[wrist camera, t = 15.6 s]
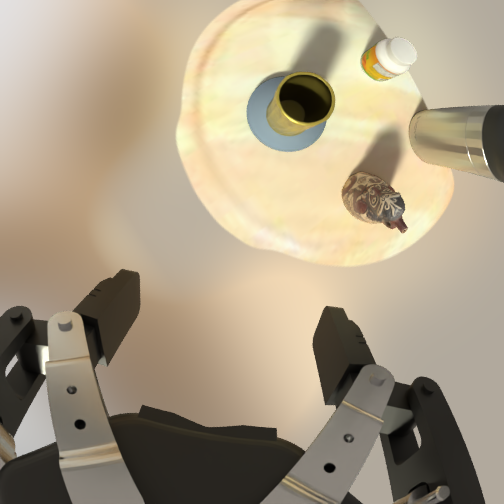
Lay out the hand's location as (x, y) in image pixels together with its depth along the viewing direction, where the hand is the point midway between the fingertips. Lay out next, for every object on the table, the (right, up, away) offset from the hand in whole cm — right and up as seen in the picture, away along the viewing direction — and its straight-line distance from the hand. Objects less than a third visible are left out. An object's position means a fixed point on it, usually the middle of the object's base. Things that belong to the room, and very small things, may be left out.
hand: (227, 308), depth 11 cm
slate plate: (+6, +22, +24) cm, 33 cm away
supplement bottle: (+20, +31, +20) cm, 41 cm away
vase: (+6, +21, +22) cm, 31 cm away
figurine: (+18, +11, +28) cm, 35 cm away
